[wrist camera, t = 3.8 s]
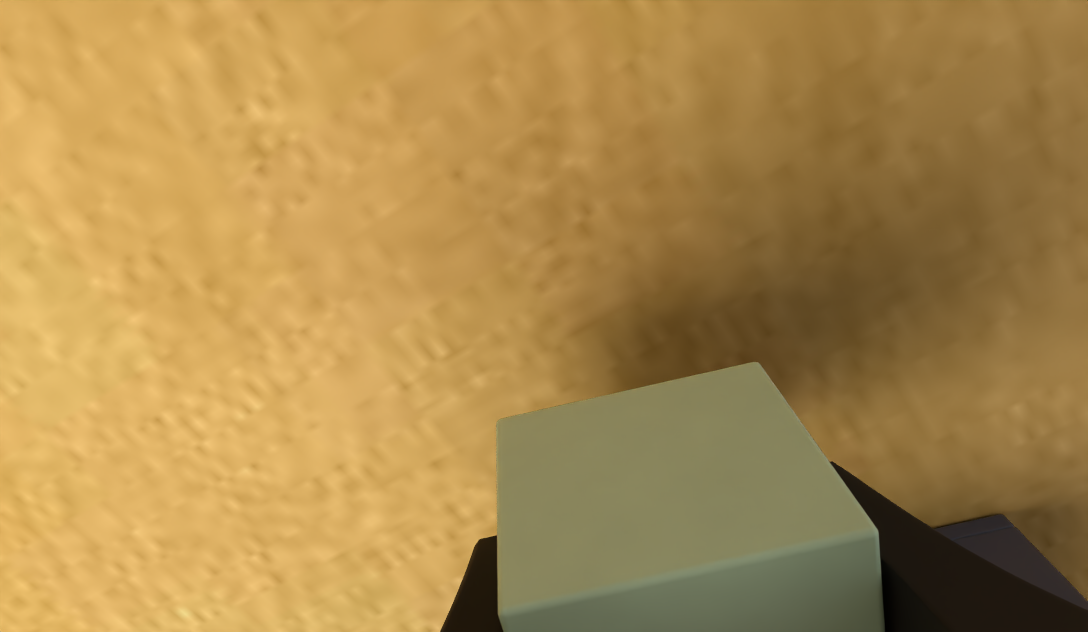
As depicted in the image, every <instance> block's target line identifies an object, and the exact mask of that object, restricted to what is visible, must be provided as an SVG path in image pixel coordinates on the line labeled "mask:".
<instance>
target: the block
mask: <svg viewBox="0 0 1088 632" xmlns="http://www.w3.org/2000/svg"><path fill="white" fill-rule="evenodd" d="M496 468H497V576H498V616H499V619H500V622H501V625H502V629H503V632H885V623H884V608H883V593H882V578H881V563H880V548H879V533H878V530H877V528H876V527H875V525H874V524H873V522H872V521H871V520H870V518H869V517H868V515H867V514H866V513H865V511H864V510H863V508H862V507H861V506H860V504H859V503H858V501H857V500H856V499H855V497H854V496H853V494H852V493H851V492H850V490H849V489H848V487H847V486H846V484H845V483H844V482H843V480H842V479H841V477H840V476H839V475H838V473H837V472H836V470H835V469H834V468H833V466H832V465H831V463H830V462H829V461H828V459H827V458H826V456H825V455H824V454H823V452H822V451H821V449H820V448H819V446H818V445H817V444H816V442H815V441H814V439H813V438H812V437H811V435H810V434H809V432H808V431H807V430H806V428H805V427H804V425H803V424H802V423H801V421H800V420H799V418H798V417H797V416H796V414H795V413H794V411H793V410H792V408H791V407H790V406H789V404H788V403H787V401H786V400H785V399H784V397H783V396H782V394H781V393H780V392H779V390H778V389H777V387H776V386H775V385H774V383H773V382H772V380H771V379H770V378H769V376H768V375H767V373H766V372H765V370H764V369H763V368H762V366H761V365H760V363H758V362H751V363H746V364H742V365H737V366H733V367H728V368H724V369H719V370H715V371H711V372H706V373H702V374H697V375H693V376H688V377H684V378H679V379H675V380H671V381H666V382H662V383H657V384H653V385H648V386H644V387H639V388H635V389H631V390H626V391H622V392H617V393H613V394H608V395H604V396H599V397H595V398H591V399H586V400H582V401H577V402H573V403H568V404H564V405H559V406H555V407H551V408H546V409H542V410H537V411H533V412H528V413H524V414H520V415H515V416H511V417H506V418H502V419H500V420H498V421H497V424H496Z"/></svg>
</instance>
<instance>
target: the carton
mask: <svg viewBox="0 0 1088 632" xmlns="http://www.w3.org/2000/svg"><path fill="white" fill-rule="evenodd" d="M934 530H936V531H938V532H939V533H941V534H942V535H944V536H946V537H947V538H949V539H950V540H952V541H954V542H955V543H957V544H959V545H960V546H962V547H964V548H966V549H967V550H969V551H971V552H973V553H975V554H976V555H978V556H980V557H982V558H984V559H985V560H987V561H989V562H991V563H993V564H994V565H996V566H998V567H1000V568H1002V569H1003V570H1005V571H1007V572H1009V573H1011V574H1013V575H1015V576H1017V577H1019V578H1021V579H1023V580H1025V581H1027V582H1029V583H1031V584H1033V585H1035V586H1037V587H1039V588H1041V589H1043V590H1045V591H1047V592H1050V593H1052V594H1054V595H1056V596H1058V597H1060V598H1062V599H1064V600H1067V601H1069V602H1071V603H1073V604H1075V605H1077V606H1079V607H1082V608H1084V609H1086V610H1088V601H1087V600H1086V599H1085V598H1084V597H1083V596H1082V595H1081V594H1080V593H1079V592H1078V591H1077V590H1076V589H1075V588H1074V587H1073V586H1072V585H1071V584H1070V583H1069V582H1068V581H1067V579H1066V578H1065V577H1064V576H1063V575H1062V574H1061V573H1060V572H1059V571H1058V570H1057V569H1056V568H1055V567H1054V566H1053V565H1052V564H1051V563H1050V562H1049V561H1048V560H1047V559H1046V558H1045V557H1044V556H1043V555H1042V554H1041V553H1040V552H1039V551H1038V550H1037V549H1036V548H1035V547H1034V546H1033V545H1032V543H1031V542H1030V541H1029V540H1028V539H1027V538H1026V537H1025V536H1024V535H1023V534H1022V533H1021V532H1020V531H1019V530H1018V529H1017V528H1016V527H1014V526H1013V524H1012V523H1011V522H1010V521H1009V520H1008V519H1007V518H1006V517H1005V516H1004V515H1003V514H999V515H995V516H990V517H986V518H981V519H976V520H972V521H967V522H963V523H958V524H954V525H949V526H945V527H940V528H936V529H934Z"/></svg>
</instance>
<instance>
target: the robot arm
mask: <svg viewBox="0 0 1088 632" xmlns="http://www.w3.org/2000/svg"><path fill="white" fill-rule="evenodd" d="M830 463H831V465H832V466H833V468H834V469H835V470H836V472H837V473H838V475H839V476H840V477H841V479H842V480H843V482H844V483H845V484H846V486H847V487H848V489H849V490H850V492H851V493H852V494H853V496H854V497H855V499H856V500H857V501H858V503H859V504H860V506H861V507H862V508H863V510H864V511H865V513H866V514H867V515H868V517H869V518H870V520H871V521H872V522H873V524H874V525H875V527H876V528H877V530H878V533H879V548H880V563H881V578H882V593H883V608H884V623H885V632H1088V610H1086V609H1084V608H1082V607H1079V606H1077V605H1075V604H1073V603H1071V602H1069V601H1067V600H1064V599H1062V598H1060V597H1058V596H1056V595H1054V594H1052V593H1050V592H1047V591H1045V590H1043V589H1041V588H1039V587H1037V586H1035V585H1033V584H1031V583H1029V582H1027V581H1025V580H1023V579H1021V578H1019V577H1017V576H1015V575H1013V574H1011V573H1009V572H1007V571H1005V570H1003V569H1002V568H1000V567H998V566H996V565H994V564H993V563H991V562H989V561H987V560H985V559H984V558H982V557H980V556H978V555H976V554H975V553H973V552H971V551H969V550H967V549H966V548H964V547H962V546H960V545H959V544H957V543H955V542H954V541H952V540H950V539H949V538H947V537H946V536H944V535H942V534H941V533H939V532H938V531H936V530H934V529H933V528H931V527H930V526H928V525H926V524H925V523H923V522H922V521H920V520H919V519H917V518H915V517H914V516H912V515H911V514H909V513H908V512H906V511H905V510H903V509H902V508H900V507H899V506H897V505H896V504H894V503H893V502H891V501H890V500H888V499H887V498H885V497H884V496H882V495H881V494H879V493H878V492H876V491H875V490H874V489H872V488H871V487H869V486H868V485H866V484H865V483H863V482H862V481H861V480H859V479H858V478H856V477H855V476H853V475H852V474H850V473H849V472H847V471H846V470H844V469H843V468H841V467H840V466H838V465H837V464H835V463H834V462H830ZM440 632H503V629H502V625H501V622H500V619H499V616H498V576H497V536H492V537H488V538H483V539H480V540H479V541H478V542H477V544H476V545H475V547H474V550H473V553H472V556H471V558H470V561H469V564H468V567H467V569H466V572H465V575H464V577H463V580H462V582H461V585H460V587H459V590H458V592H457V595H456V597H455V600H454V602H453V604H452V607H451V609H450V611H449V613H448V616H447V618H446V620H445V622H444V624H443V627H442V629H441V631H440Z"/></svg>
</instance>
